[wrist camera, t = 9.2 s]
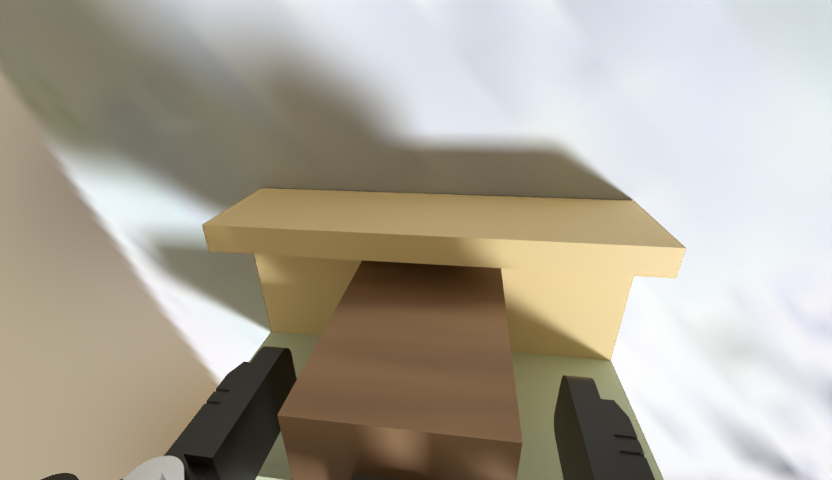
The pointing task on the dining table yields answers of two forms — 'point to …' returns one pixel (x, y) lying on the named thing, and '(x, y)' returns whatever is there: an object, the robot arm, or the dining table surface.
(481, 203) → the beige piece
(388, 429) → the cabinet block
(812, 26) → the dining table surface
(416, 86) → the dining table surface
